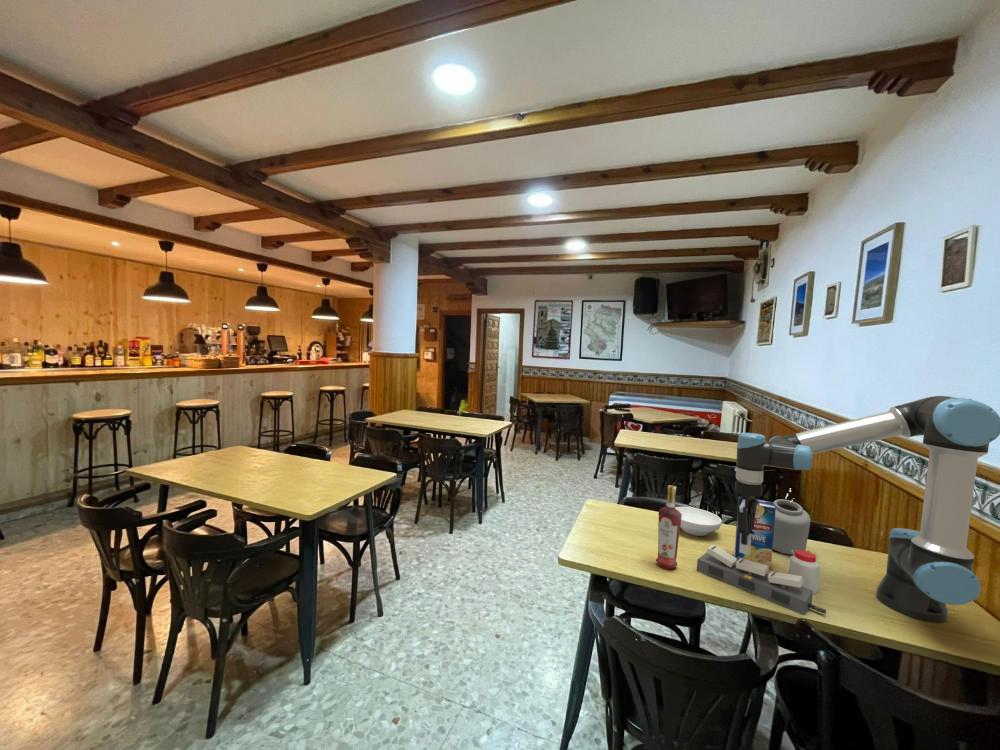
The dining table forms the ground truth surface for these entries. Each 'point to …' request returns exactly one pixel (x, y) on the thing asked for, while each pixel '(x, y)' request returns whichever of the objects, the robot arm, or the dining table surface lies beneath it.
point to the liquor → (668, 531)
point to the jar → (790, 527)
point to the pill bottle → (805, 568)
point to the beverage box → (759, 535)
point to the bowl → (698, 521)
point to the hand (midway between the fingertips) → (744, 552)
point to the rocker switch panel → (758, 585)
